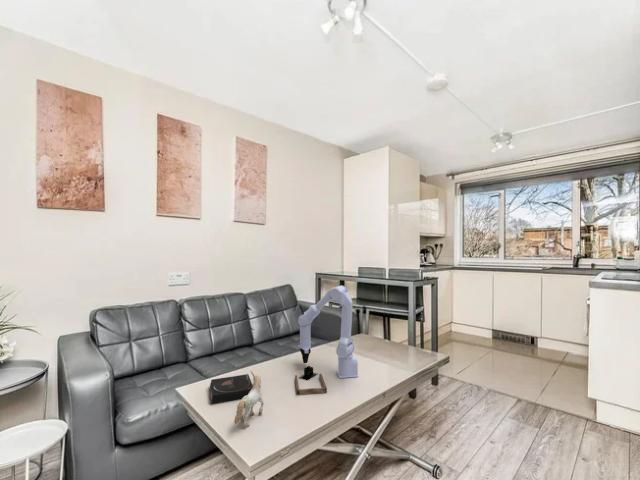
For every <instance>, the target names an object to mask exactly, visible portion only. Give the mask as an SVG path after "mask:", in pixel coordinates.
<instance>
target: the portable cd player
mask: <svg viewBox="0 0 640 480" xmlns="http://www.w3.org/2000/svg"><path fill="white" fill-rule="evenodd" d="M252 384H253V383H252V380H251V378H250V375H249V373H246V374H240V375H233V376H226V377H220V378H212V379H211V380H210V384H209V391H210V392H209V393H210V403H211V405H218V404H222V403H229V402H234V401H239V400H240V401H241V399H242V398H243V397H244V396H246V395H248V394H249V392H250V391H251V390H252V388H253V386H252Z"/></svg>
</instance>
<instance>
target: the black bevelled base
mask: <svg viewBox="0 0 640 480" xmlns="http://www.w3.org/2000/svg"><path fill="white" fill-rule="evenodd" d="M303 369H304V370H303V374H302V375H301V376H299V377H298V379H300V380H305V381H310V380H311V379H313V378H314V377H316V376H317V375H318V373H316V372H314V366H311V365H308V366H306V367H304V368H303Z"/></svg>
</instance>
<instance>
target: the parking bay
mask: <svg viewBox="0 0 640 480" xmlns="http://www.w3.org/2000/svg"><path fill="white" fill-rule="evenodd" d="M318 374H319V377H318V378H319V381H320V384H321V387H312V388H310V387H309V388H300V385H299V381H298V380H299V378H298V375H297V374H295V375H294V385H295V390H296V396H304V395H319V394H327V393H328V387H327V385H326V383H325V380H324V376H323V374H322V373H318Z"/></svg>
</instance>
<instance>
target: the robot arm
mask: <svg viewBox="0 0 640 480" xmlns="http://www.w3.org/2000/svg"><path fill="white" fill-rule="evenodd" d="M333 300H334V301H335V302H336V303H338V304H339V305H340V306H341V318H340V319H341V321H340V338H339V340H338V344H337V345H338V346H337V347H336V348H335V349H336V350H335V352H336V353H335V354H336V355H337V356H338V357H337V364H338V365H337V366H338V367H337V368H338V370H336V371H335V372H336V374H337V376H338V378H340V379H344V378H345V379H346V378H358V377H359V373H358V369H359V368H358V366H359V364H358V358H357V356H356V355H353V352H354V351H355V345H354V343H353V341H354V340H353V338H352V325H353V323H352V322H353V304H354V303H353V299H352V296H351V295H350V292H349V289H348V288H347V287H346V286H344V285H337V286H334V287H332V288H331V289H329V290H327V292H326V293H325V294H324V295H323V296H322V298H321V299H319V301H318V302H317V303H316V304H311V305H309V308H308V309H307V310H306V311H304V312H303V314H302V315H299V317H298V318H297V322H298V325H299V344H298V345H297V348H299V351H300V353H301V356H302V362H303V364H308V363H309V356H310V354H311V347H312V345H311V344H312V343H311V336H312V335H311V333H312V332H311V331H312V330H311V326H312V323H313V321H314V319H315V318H317V317H318V316H319V315H320V314H321V309H322V308H323V307H324V306H325V305H327V304H328V303H329V302H330V301H333Z"/></svg>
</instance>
